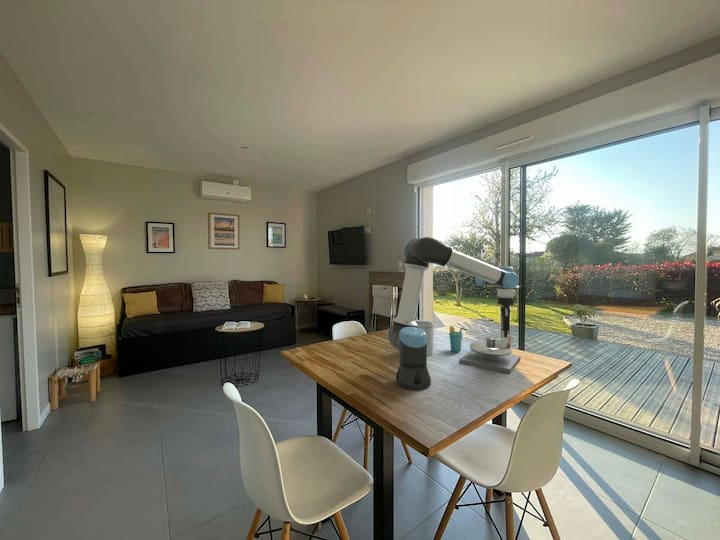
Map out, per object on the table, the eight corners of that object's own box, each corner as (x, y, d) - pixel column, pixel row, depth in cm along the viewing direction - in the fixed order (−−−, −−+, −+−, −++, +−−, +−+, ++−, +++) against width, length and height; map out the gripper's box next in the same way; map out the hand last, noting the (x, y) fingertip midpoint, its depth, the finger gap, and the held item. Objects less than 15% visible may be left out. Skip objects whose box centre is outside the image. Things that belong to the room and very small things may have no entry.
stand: (459, 362, 157) (459, 352, 156) (474, 351, 175) (474, 341, 175) (510, 373, 142) (510, 361, 142) (520, 359, 161) (520, 349, 160)
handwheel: (472, 354, 151) (472, 338, 151) (468, 343, 171) (468, 329, 170) (516, 357, 146) (516, 341, 146) (507, 345, 165) (507, 331, 165)
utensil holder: (418, 347, 185) (417, 318, 184) (439, 352, 174) (439, 322, 173) (402, 352, 175) (402, 322, 174) (423, 358, 164) (423, 326, 164)
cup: (471, 353, 172) (471, 327, 171) (461, 355, 168) (461, 329, 167) (452, 347, 184) (452, 323, 183) (443, 349, 180) (443, 324, 179)
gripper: (515, 298, 147) (514, 346, 147) (512, 295, 159) (512, 340, 159) (498, 298, 150) (498, 345, 150) (496, 295, 162) (496, 339, 162)
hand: (505, 342), depth 155 cm, fingers closed
